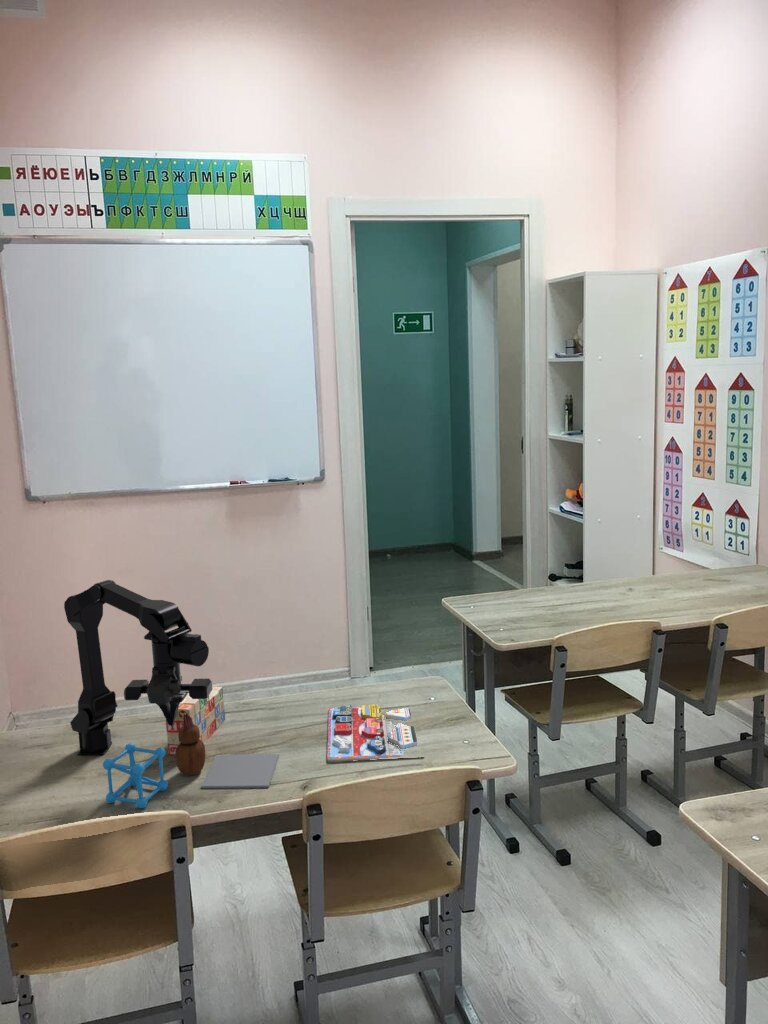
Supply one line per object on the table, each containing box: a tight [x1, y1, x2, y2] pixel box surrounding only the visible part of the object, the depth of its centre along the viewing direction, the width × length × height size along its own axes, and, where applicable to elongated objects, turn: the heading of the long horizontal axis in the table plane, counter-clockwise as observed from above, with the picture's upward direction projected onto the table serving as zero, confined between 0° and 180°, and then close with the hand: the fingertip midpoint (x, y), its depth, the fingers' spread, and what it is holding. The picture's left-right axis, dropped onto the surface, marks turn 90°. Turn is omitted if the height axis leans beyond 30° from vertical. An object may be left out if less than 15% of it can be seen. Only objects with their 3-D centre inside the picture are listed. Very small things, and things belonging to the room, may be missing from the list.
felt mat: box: [200, 753, 280, 789], centre depth 191 cm, size 15×15×1 cm
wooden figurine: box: [174, 713, 206, 777], centre depth 190 cm, size 7×6×15 cm
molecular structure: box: [102, 742, 169, 809], centre depth 181 cm, size 10×10×10 cm
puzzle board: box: [326, 703, 418, 763], centre depth 210 cm, size 30×23×3 cm
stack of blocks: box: [165, 685, 226, 756], centre depth 209 cm, size 21×6×12 cm, turn 169°
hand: (171, 724), depth 190 cm, fingers closed
